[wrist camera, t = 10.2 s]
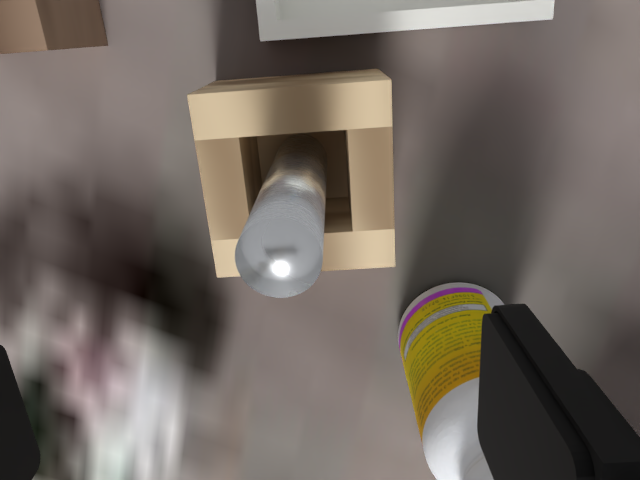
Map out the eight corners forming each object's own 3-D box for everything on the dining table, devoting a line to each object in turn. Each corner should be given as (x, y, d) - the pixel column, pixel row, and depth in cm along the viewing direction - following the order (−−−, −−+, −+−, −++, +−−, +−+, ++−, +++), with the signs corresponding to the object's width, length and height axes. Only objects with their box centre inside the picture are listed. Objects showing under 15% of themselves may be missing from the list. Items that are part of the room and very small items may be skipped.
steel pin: (273, 135, 26) (228, 220, 15) (325, 132, 26) (319, 215, 15) (279, 185, 27) (240, 299, 16) (329, 182, 27) (325, 295, 16)
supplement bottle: (373, 338, 31) (402, 528, 19) (445, 256, 29) (528, 413, 17) (457, 391, 33) (533, 599, 21) (532, 317, 31) (663, 501, 19)
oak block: (238, 229, 29) (217, 277, 23) (216, 80, 26) (187, 94, 20) (381, 220, 29) (395, 266, 23) (377, 68, 26) (391, 79, 20)
